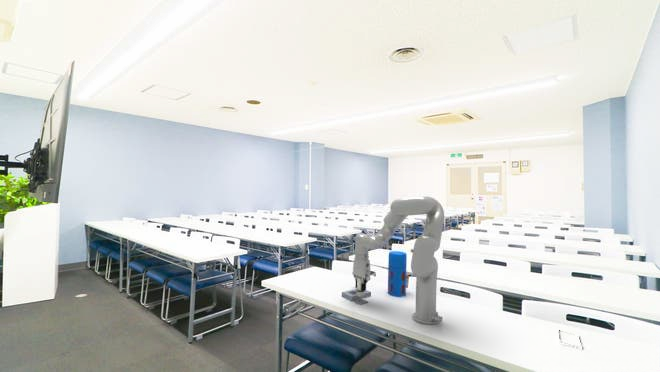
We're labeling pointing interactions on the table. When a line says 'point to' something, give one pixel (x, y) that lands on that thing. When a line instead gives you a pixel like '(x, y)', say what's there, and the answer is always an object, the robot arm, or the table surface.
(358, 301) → the pad
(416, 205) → the robot arm
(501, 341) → the table surface
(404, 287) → the thermos
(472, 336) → the table surface
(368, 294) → the outlet block
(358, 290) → the plug
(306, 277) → the table surface
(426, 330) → the table surface
